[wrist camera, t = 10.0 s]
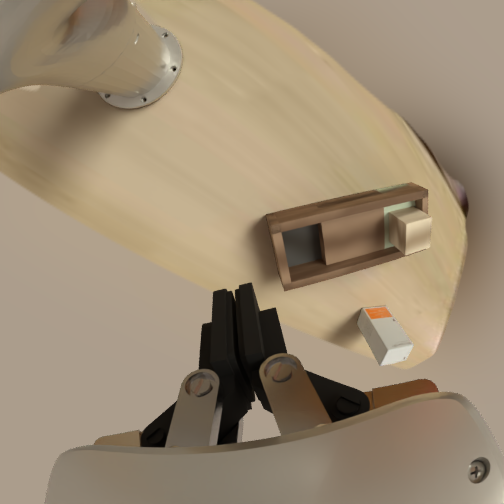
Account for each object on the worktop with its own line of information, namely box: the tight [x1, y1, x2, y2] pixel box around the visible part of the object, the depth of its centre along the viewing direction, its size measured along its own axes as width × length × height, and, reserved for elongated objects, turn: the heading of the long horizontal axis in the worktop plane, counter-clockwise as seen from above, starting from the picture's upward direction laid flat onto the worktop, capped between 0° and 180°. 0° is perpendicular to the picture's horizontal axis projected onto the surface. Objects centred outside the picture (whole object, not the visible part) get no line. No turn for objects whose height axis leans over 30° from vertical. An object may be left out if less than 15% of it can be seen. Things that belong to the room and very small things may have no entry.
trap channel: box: [266, 182, 428, 291], centre depth 38 cm, size 10×25×4 cm, turn 103°
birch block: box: [389, 206, 432, 255], centre depth 36 cm, size 5×5×5 cm
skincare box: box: [357, 306, 414, 366], centre depth 44 cm, size 6×4×12 cm
